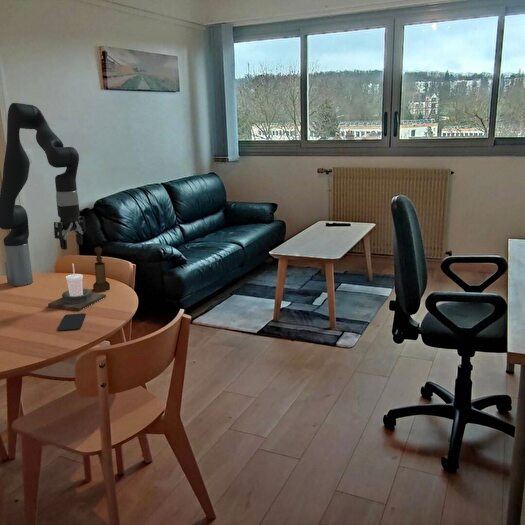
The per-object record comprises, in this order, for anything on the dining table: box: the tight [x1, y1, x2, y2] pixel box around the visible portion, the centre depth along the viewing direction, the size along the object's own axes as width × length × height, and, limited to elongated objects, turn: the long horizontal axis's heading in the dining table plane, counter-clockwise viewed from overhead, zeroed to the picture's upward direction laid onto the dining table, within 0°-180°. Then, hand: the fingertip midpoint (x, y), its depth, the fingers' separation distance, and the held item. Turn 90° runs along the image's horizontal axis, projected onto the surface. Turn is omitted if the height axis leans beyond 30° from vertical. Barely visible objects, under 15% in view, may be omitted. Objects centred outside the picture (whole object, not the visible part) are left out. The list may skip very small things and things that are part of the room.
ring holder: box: [47, 288, 107, 312], centre depth 199 cm, size 14×16×4 cm
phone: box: [57, 312, 87, 332], centre depth 180 cm, size 7×1×15 cm
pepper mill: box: [92, 246, 111, 293], centre depth 212 cm, size 7×6×18 cm
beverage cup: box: [65, 263, 84, 296], centre depth 198 cm, size 6×6×14 cm
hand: (72, 246), depth 194 cm, fingers open, 8 cm apart
